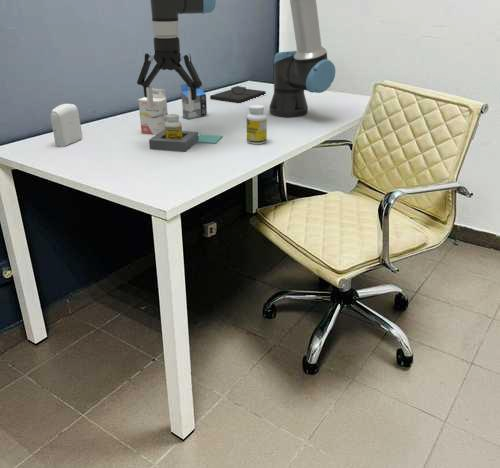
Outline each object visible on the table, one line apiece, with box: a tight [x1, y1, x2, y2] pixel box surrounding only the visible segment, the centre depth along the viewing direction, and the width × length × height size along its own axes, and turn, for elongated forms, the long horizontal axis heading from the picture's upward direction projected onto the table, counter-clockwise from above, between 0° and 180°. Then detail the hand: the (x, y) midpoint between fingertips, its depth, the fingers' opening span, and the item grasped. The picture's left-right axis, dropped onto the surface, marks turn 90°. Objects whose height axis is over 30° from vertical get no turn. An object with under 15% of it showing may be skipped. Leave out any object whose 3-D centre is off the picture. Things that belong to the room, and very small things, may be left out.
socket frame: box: [148, 130, 199, 153], centre depth 163 cm, size 12×12×3 cm
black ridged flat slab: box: [209, 85, 267, 104], centre depth 227 cm, size 16×3×21 cm
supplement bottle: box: [165, 113, 183, 140], centre depth 161 cm, size 5×5×10 cm
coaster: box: [196, 133, 223, 145], centre depth 168 cm, size 8×8×1 cm
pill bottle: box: [246, 104, 268, 145], centre depth 163 cm, size 6×6×12 cm
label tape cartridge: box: [180, 83, 208, 120], centre depth 193 cm, size 9×4×12 cm, turn 131°
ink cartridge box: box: [138, 87, 169, 136], centre depth 173 cm, size 9×5×15 cm, turn 71°
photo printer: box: [49, 103, 83, 148], centre depth 164 cm, size 10×4×12 cm, turn 158°
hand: (171, 109), depth 158 cm, fingers open, 13 cm apart
